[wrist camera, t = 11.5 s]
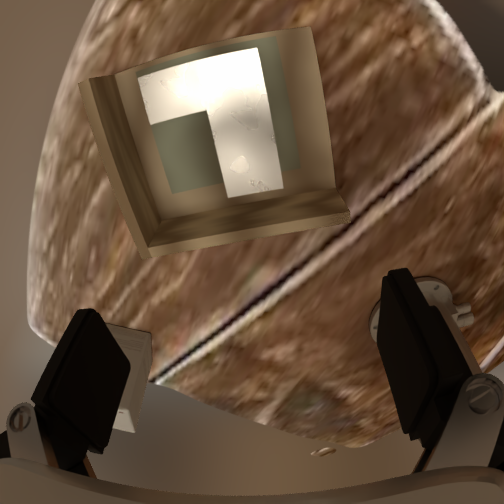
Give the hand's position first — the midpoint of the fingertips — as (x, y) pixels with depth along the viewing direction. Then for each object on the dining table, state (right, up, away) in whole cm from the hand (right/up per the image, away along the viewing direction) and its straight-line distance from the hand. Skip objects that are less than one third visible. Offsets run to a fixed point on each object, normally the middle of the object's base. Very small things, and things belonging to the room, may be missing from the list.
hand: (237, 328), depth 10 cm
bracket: (-2, +14, +15) cm, 20 cm away
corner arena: (-2, +13, +17) cm, 21 cm away
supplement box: (-18, -11, +33) cm, 39 cm away
